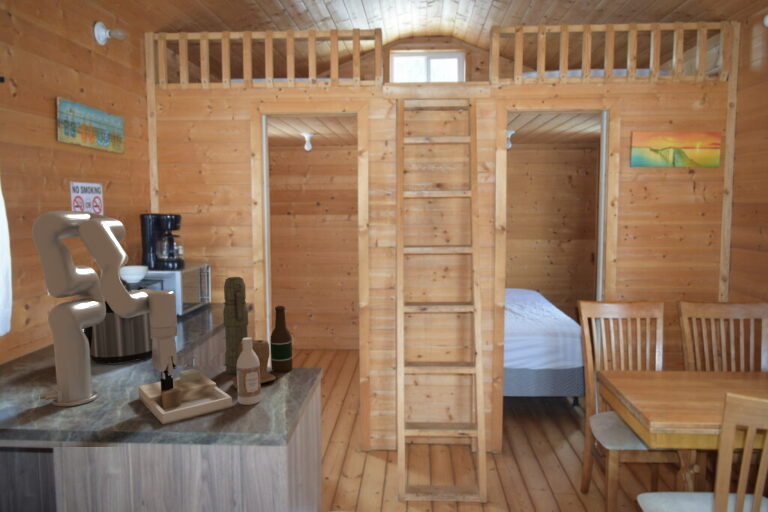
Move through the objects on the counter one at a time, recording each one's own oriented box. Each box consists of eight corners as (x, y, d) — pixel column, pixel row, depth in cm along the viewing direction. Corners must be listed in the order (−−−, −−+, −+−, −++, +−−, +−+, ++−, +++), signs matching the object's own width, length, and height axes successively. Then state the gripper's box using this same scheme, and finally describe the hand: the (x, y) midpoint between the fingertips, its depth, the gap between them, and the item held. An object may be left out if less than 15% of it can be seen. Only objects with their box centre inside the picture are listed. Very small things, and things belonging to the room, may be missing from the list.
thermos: (233, 376, 185) (229, 280, 182) (220, 369, 194) (216, 277, 191) (256, 371, 190) (252, 278, 187) (242, 364, 200) (239, 275, 197)
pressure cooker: (113, 347, 230) (109, 276, 227) (175, 347, 228) (171, 276, 226) (68, 367, 200) (63, 286, 197) (138, 367, 198) (134, 286, 196)
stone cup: (265, 374, 187) (264, 334, 186) (279, 383, 177) (278, 340, 176) (224, 383, 178) (222, 340, 177) (237, 392, 168) (235, 347, 167)
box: (163, 424, 143) (162, 414, 143) (150, 411, 153) (150, 401, 153) (232, 407, 156) (231, 397, 156) (216, 395, 166) (216, 386, 166)
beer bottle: (283, 365, 198) (281, 303, 196) (296, 369, 193) (294, 306, 191) (267, 370, 192) (264, 306, 190) (280, 374, 187) (278, 309, 185)
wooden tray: (150, 411, 154) (149, 398, 153) (139, 398, 164) (138, 386, 164) (216, 395, 166) (216, 383, 166) (201, 384, 177) (201, 373, 177)
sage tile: (184, 382, 167) (184, 375, 167) (180, 378, 171) (179, 371, 171) (200, 379, 170) (199, 372, 170) (195, 375, 174) (194, 368, 174)
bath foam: (242, 407, 155) (239, 342, 154) (235, 400, 161) (232, 337, 160) (264, 402, 159) (261, 339, 158) (256, 395, 165) (254, 334, 163)
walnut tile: (161, 406, 155) (163, 409, 153) (160, 390, 154) (163, 394, 152) (178, 402, 158) (180, 405, 156) (178, 387, 157) (180, 390, 155)
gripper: (144, 329, 159) (147, 387, 160) (157, 337, 147) (161, 400, 148) (169, 325, 163) (172, 382, 165) (184, 333, 152) (187, 394, 153)
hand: (167, 390), depth 157 cm, fingers closed
